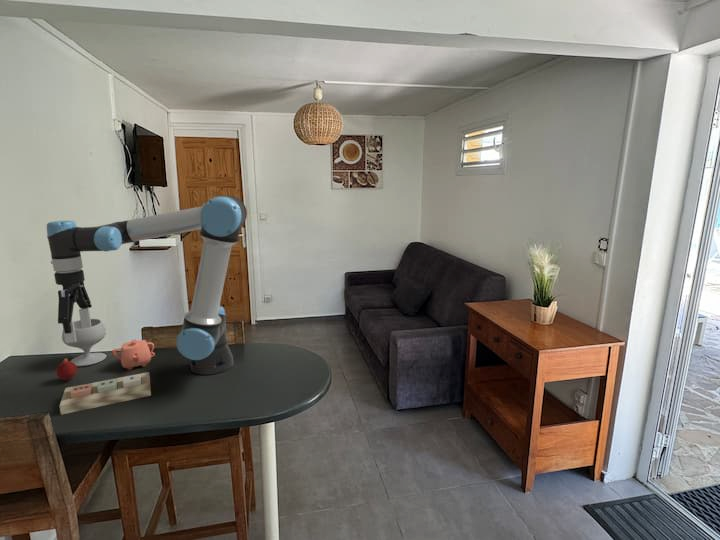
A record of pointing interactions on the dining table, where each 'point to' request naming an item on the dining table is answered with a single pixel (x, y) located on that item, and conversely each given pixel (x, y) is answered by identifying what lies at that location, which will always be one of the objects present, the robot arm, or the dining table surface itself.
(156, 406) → the dining table surface
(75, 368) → the onion
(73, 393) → the key three
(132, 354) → the teapot
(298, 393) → the dining table surface
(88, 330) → the chalice
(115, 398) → the key board
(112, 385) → the key two
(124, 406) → the dining table surface
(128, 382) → the key one
